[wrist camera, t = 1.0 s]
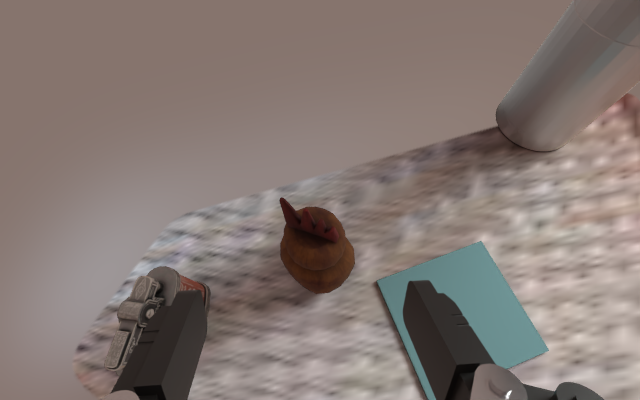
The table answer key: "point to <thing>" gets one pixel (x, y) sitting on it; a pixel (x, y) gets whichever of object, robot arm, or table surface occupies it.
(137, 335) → the lighter
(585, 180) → the table surface
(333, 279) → the wooden figurine
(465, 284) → the mat
